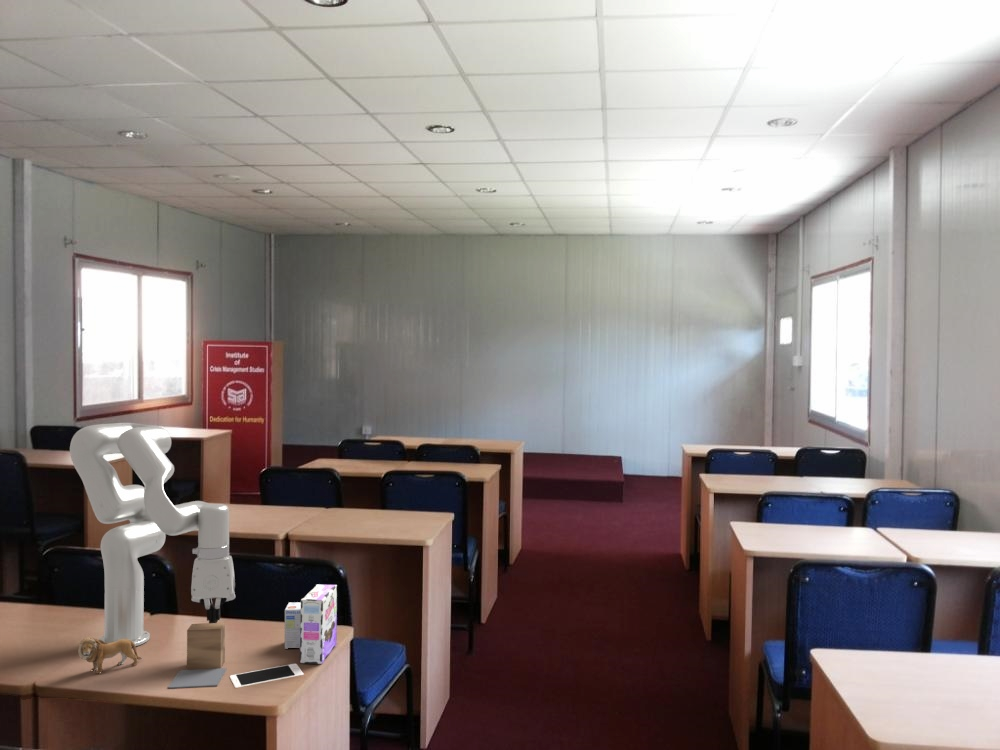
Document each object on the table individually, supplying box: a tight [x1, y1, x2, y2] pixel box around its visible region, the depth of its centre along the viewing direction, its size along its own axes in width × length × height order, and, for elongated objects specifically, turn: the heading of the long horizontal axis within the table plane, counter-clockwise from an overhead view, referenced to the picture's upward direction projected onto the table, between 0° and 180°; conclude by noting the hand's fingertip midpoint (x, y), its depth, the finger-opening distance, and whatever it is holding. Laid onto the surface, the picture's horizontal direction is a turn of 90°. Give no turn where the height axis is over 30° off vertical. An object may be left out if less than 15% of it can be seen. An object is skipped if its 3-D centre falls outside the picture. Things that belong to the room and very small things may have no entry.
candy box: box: [299, 583, 338, 665], centre depth 194 cm, size 14×6×16 cm, turn 176°
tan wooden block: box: [186, 622, 226, 670], centre depth 186 cm, size 4×8×10 cm, turn 98°
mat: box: [167, 667, 227, 690], centre depth 178 cm, size 10×11×1 cm
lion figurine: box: [77, 637, 143, 674], centre depth 184 cm, size 15×5×9 cm, turn 137°
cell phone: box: [229, 663, 304, 689], centre depth 180 cm, size 8×16×1 cm, turn 120°
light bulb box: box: [284, 601, 301, 650], centre depth 201 cm, size 11×7×11 cm, turn 97°
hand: (213, 622), depth 193 cm, fingers closed
